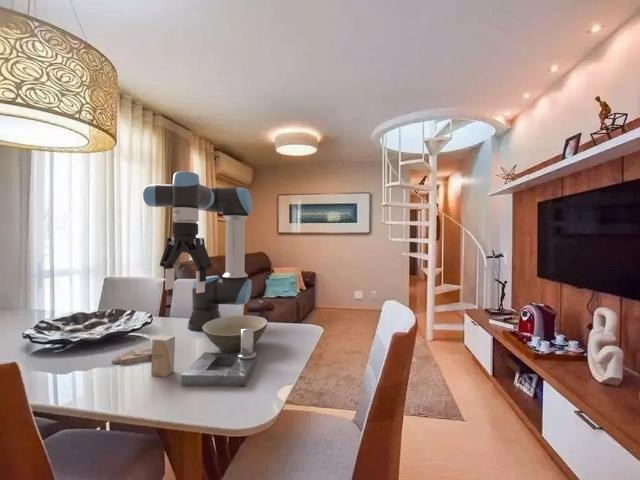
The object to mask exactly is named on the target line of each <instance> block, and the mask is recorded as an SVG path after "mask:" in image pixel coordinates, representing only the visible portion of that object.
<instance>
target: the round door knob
mask: <svg viewBox="0 0 640 480" xmlns="http://www.w3.org/2000/svg"><path fill="white" fill-rule="evenodd" d="M256 353H257V352H256V351H254V346H253V328H252V327H244V328H241V352H238V355H237V357H238V358H239V359H242V360H249V359H253V358H255V357H256Z"/></svg>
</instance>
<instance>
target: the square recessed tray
mask: <svg viewBox="0 0 640 480" xmlns="http://www.w3.org/2000/svg"><path fill="white" fill-rule="evenodd" d="M238 353H239V352H238ZM238 353H229V352H209V351H208V352H203V353H202V354H201V355H200V356H199V357H198V358H197V359H196V360H195V361H194V362H193V363H192V364H191V365H190V366H189V367H188V368H187V369H186V370H185V371H184V372H183V373H182V374H181V375H180V387H181V386H182V387H233V388H234V387H235V388H236V387H238V388H239V386H240V387H241V388H243V387H246V386H247V384H248V381H249V379H250V378H251V376H252V374H253V372H254V371H255V369H254V368H256V367H255V366H257V365H258V362H259V353H258V352H256V357H255V358H253V359H249V360H242V359H239V358H238V357H237V355H238ZM218 366H219V367H225V366H226V367H230V366H231V367H230V369H228V370H215V369H216V368H217V367H218Z"/></svg>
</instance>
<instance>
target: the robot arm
mask: <svg viewBox="0 0 640 480" xmlns="http://www.w3.org/2000/svg"><path fill="white" fill-rule="evenodd" d="M200 183H201V181H200V175H199V174H198V173H195V172H191V171H176V172H175V173H174V174H173V178H172V184H156V183H155V184H148V185H146V186H144V188H143V191H142V199H143V201H144V203H145V204H146V205H147V206H148V207H153V208H154V207H155V208H160V207H161V208H172V223H171V225H172V226H171V227H172V229H171V231H172V232H171V233H172V235H174V237H167V238H166V245H165V248H164V251H163V252H162V253H163V254H162V256H161V259H160V262H159V267H163V269H164V290H166V291H167V290H172V289H173V290H174V289H175V267H174V266H175V263H176V262H177V260H178V259H179V258H180V256H181V254H183V253H186V254H189V256H190V258H191V259H192V260H193V264H194V265H195V266H196V268H197V270H196V273H195V279H193V281H192V286H191V290H192V291H191V292H192V293H191V295H192V296H191V298H192V299H191V301H192V302H191V306H192V307H191V308H192V310H191V313H190V317H189V319H188V321H187V329H189V330H190V331H197V332H199V331H200V332H202V331H203V329H202V327H203V325H204V324H206V323H207V322H209V321H211V320H214V319H217V318H221V317H222V315H221V312H220V307H219V306H220V305H231V306H238V305H241V306H242V305H246V304H247V303H248V302H249V300H250V298H251V294H252V291H253V290H252V288H253V286H252V285H253V284H252V282H253V281H252V279H249V275H248V274H247V272H245V267H246V266H245V257H246V256H245V253H246V252H245V247H246V242H245V241H246V239H245V238H246V225H245V224H246V220H247V219H248V218H249V214H251V213H252V212H253V200H252V196H251V192H250V191H249V189H247V188H246V187H240V186H239V187H207V186H205V185H202V184H200ZM199 211H204V212H209V213H215V214H218V213H220V214H222V218H223V219H224V220H225V272H224V273H223V274H222V276H221V279H220V276H219V275H210V276H207V271H208V270H210V269H212V268H213V265H212V263H211V259H210V256H209V254H208V251H207V248H206V245H205V244H206V243H205V238H204V237H197V236H198V235H199V223H198V222H199V221H200V219H199V216H200V215H199V214H200V213H199ZM203 332H204V331H203Z"/></svg>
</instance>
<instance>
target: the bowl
mask: <svg viewBox="0 0 640 480" xmlns="http://www.w3.org/2000/svg"><path fill="white" fill-rule="evenodd" d="M244 327H252V328H253V347H254V345H255V344H256V343H257V342H258V340H260V339H261V337H262V335H264V334H263V333H264V332H265V330H266V329H267V327H268V320H267V319H266V318H265V317H263V316H262V317H261V316H257V315H256V316H255V315H246V314H245V315H243V314H242V315H241V314H237V315H227V316H221V318H217V319H214V320H211V321H209V322H207V323H206V324H204V325H203V327H202V329H203V333H204V334H205V336H206V338H207V339H208V340H209V341H210V342H211V343H212V344H213V345H214V346H215V347H217V348H218V349H219V350H220V351H222V352H223V353H239V352H241V328H244Z"/></svg>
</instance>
